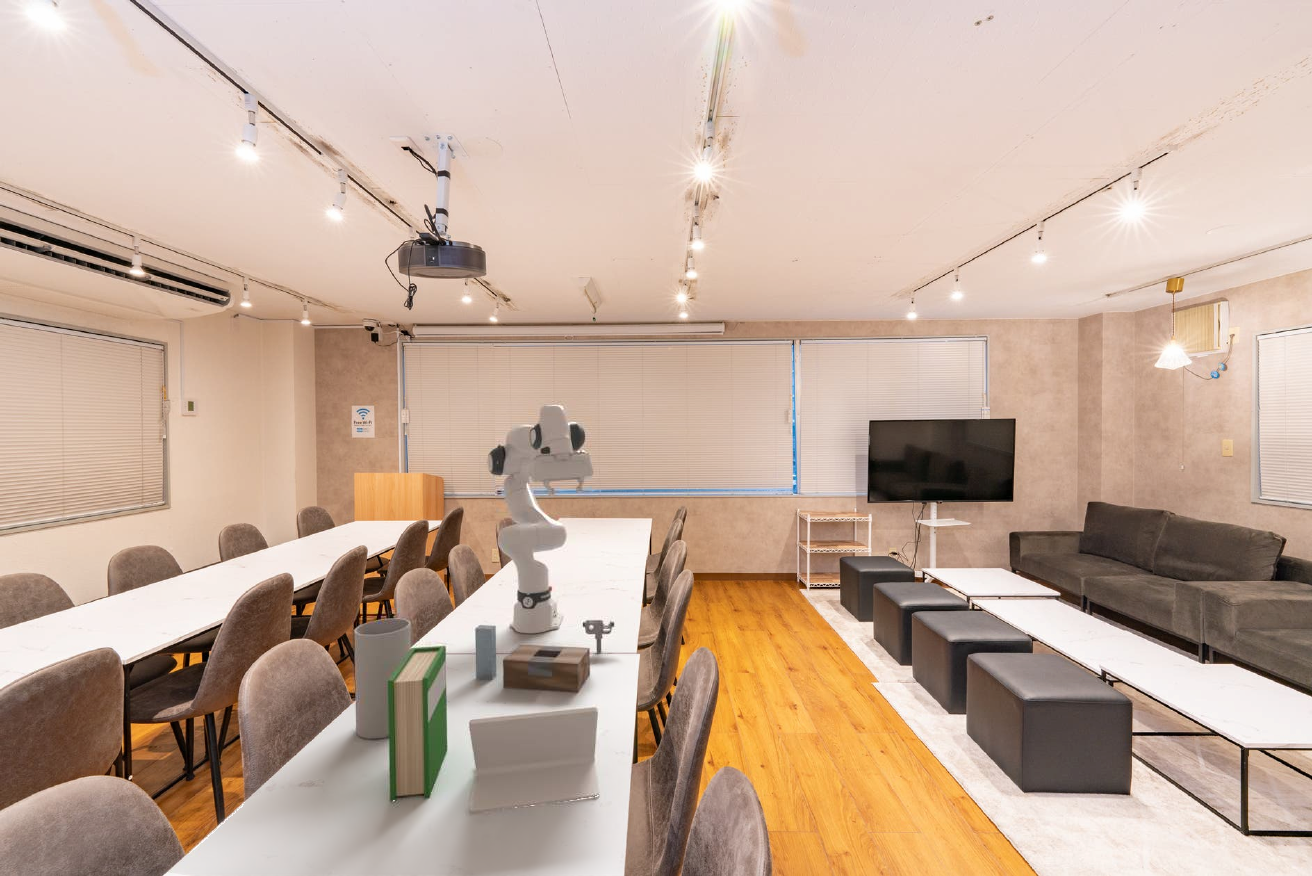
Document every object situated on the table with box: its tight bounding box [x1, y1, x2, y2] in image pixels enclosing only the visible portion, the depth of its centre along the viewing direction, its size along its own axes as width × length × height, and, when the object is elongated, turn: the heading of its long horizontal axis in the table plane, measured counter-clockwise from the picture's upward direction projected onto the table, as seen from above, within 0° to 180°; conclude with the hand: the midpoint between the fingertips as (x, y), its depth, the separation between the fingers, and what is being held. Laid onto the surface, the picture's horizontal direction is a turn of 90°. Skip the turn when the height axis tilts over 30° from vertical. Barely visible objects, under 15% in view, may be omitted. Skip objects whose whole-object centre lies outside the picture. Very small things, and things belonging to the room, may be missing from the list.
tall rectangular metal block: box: [474, 624, 497, 681], centre depth 173 cm, size 3×5×15 cm, turn 81°
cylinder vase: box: [353, 617, 412, 740], centre depth 144 cm, size 12×12×25 cm
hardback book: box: [388, 645, 448, 802], centre depth 124 cm, size 18×7×24 cm, turn 9°
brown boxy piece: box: [502, 644, 591, 693], centre depth 170 cm, size 12×22×8 cm, turn 81°
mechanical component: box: [582, 619, 615, 654], centre depth 192 cm, size 3×10×10 cm, turn 89°
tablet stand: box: [468, 706, 600, 815], centre depth 122 cm, size 18×25×17 cm
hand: (566, 493), depth 183 cm, fingers open, 8 cm apart
